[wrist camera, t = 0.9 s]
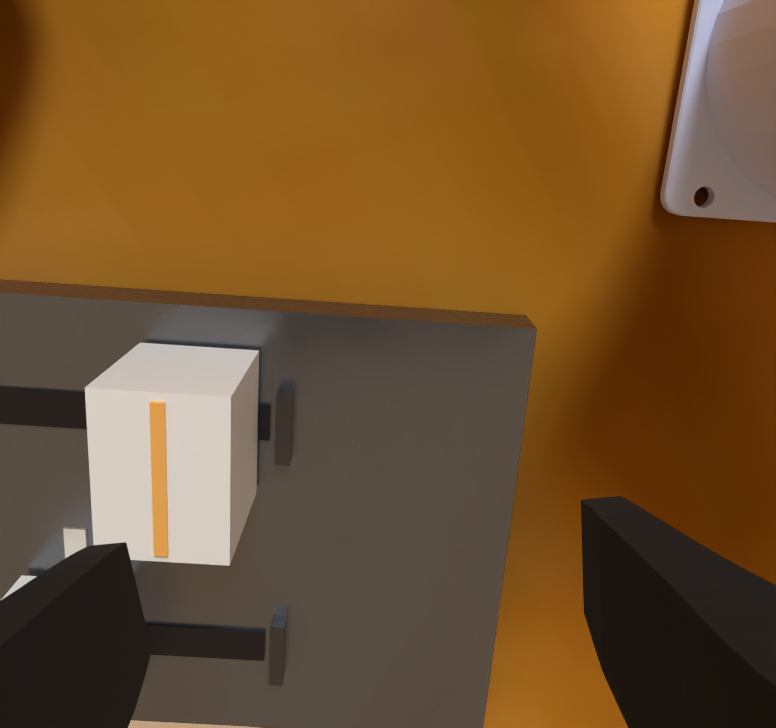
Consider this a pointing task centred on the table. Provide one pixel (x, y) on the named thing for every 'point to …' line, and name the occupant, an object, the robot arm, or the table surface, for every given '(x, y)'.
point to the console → (294, 500)
